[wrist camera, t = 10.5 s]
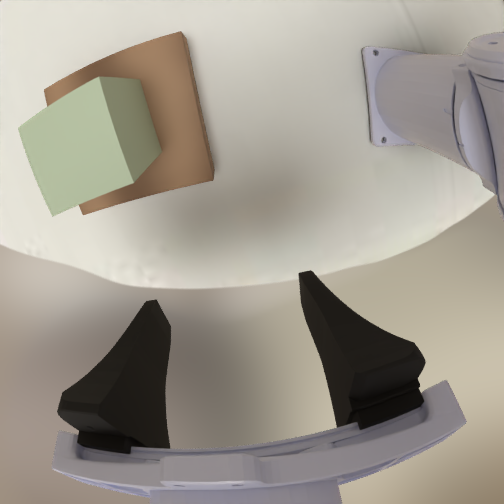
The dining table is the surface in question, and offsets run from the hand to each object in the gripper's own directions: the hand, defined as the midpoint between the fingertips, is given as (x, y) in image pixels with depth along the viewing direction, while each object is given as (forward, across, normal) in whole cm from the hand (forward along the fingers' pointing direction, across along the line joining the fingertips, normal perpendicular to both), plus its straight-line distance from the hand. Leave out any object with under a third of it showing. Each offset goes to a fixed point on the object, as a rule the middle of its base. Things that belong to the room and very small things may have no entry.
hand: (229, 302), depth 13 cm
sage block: (+7, +5, -9) cm, 13 cm away
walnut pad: (+10, +5, -9) cm, 14 cm away
